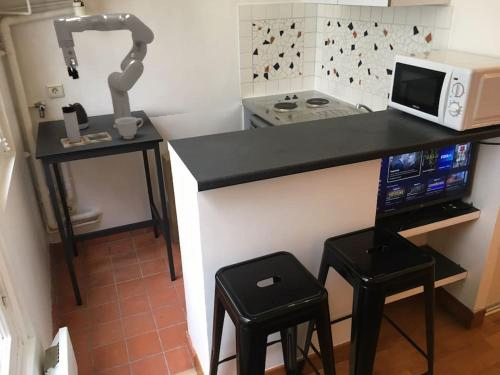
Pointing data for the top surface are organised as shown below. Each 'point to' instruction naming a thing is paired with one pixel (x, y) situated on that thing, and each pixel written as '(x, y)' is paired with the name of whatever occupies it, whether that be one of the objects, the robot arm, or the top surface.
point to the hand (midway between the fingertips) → (74, 77)
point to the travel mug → (71, 124)
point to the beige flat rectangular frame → (86, 140)
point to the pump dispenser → (81, 115)
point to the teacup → (128, 126)
